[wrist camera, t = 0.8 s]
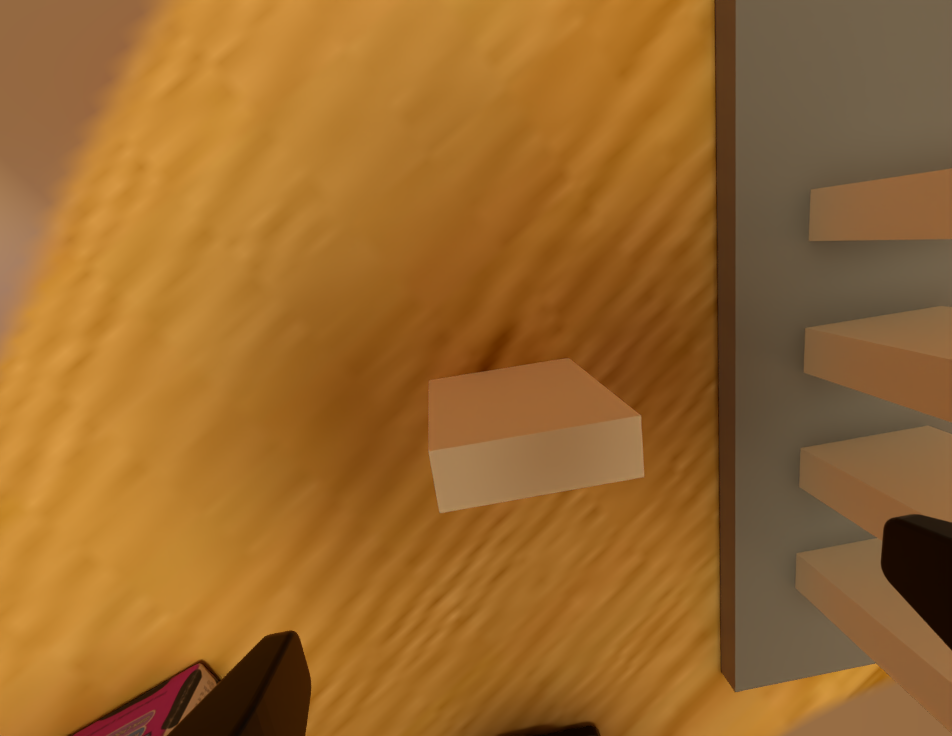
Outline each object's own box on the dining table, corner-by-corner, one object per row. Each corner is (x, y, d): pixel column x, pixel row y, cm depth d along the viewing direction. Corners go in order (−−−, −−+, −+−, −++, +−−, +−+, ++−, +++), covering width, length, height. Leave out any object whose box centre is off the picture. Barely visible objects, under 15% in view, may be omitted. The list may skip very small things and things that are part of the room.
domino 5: (912, 565, 19) (1118, 701, 14) (795, 587, 19) (954, 736, 13) (916, 530, 19) (1129, 655, 13) (796, 553, 19) (961, 691, 13)
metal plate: (932, 629, 22) (955, 646, 21) (721, 672, 21) (735, 692, 20) (1047, -254, 14) (1094, -291, 13) (713, -223, 13) (735, -260, 12)
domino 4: (923, 464, 18) (1153, 565, 12) (799, 486, 18) (975, 601, 12) (928, 425, 18) (1167, 512, 12) (800, 448, 18) (983, 547, 12)
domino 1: (572, 399, 17) (643, 477, 12) (435, 422, 17) (439, 513, 11) (568, 357, 17) (641, 415, 11) (428, 380, 17) (428, 451, 11)
